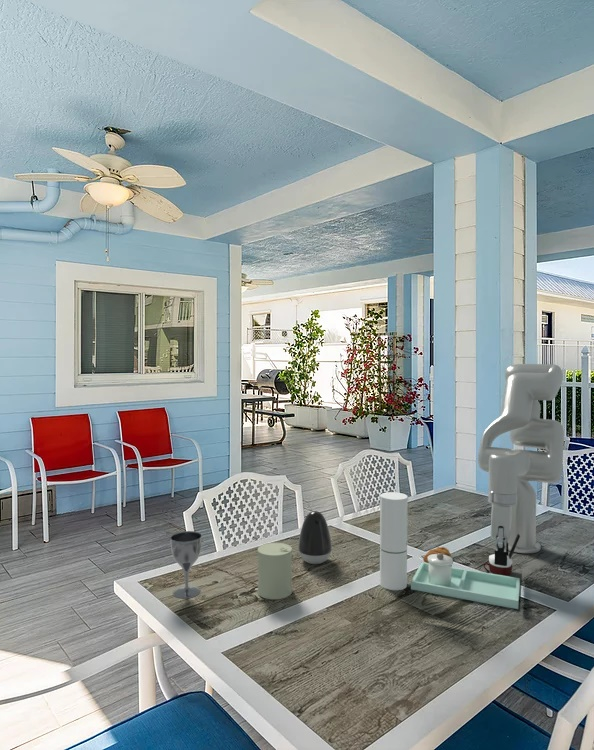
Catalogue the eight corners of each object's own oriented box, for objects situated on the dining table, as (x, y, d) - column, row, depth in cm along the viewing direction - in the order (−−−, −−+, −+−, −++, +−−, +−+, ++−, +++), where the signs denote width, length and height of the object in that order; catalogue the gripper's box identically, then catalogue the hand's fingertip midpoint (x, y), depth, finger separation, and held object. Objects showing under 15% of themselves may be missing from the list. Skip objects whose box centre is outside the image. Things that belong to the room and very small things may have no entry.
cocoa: (482, 577, 148) (480, 535, 148) (488, 568, 154) (486, 528, 153) (518, 584, 143) (516, 541, 143) (522, 575, 148) (521, 533, 148)
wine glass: (175, 601, 133) (175, 543, 132) (168, 589, 140) (167, 534, 140) (206, 595, 137) (205, 538, 136) (197, 583, 144) (196, 529, 143)
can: (284, 602, 133) (284, 555, 132) (251, 596, 136) (251, 550, 136) (297, 586, 142) (297, 543, 141) (265, 581, 145) (265, 538, 144)
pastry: (436, 570, 153) (436, 557, 152) (417, 563, 158) (417, 551, 158) (454, 561, 159) (454, 549, 159) (434, 555, 164) (434, 543, 164)
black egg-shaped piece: (302, 569, 153) (302, 518, 152) (295, 555, 163) (295, 507, 162) (336, 566, 155) (336, 515, 154) (326, 553, 165) (327, 505, 164)
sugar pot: (429, 575, 146) (430, 547, 146) (454, 580, 143) (454, 550, 143) (425, 585, 140) (425, 555, 140) (450, 590, 137) (451, 559, 137)
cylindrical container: (408, 584, 143) (409, 493, 142) (404, 595, 136) (405, 500, 135) (382, 580, 146) (382, 491, 144) (377, 591, 139) (378, 498, 138)
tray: (421, 572, 151) (421, 562, 151) (519, 589, 140) (519, 578, 140) (410, 592, 138) (411, 581, 138) (518, 613, 127) (518, 601, 127)
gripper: (490, 488, 157) (489, 547, 158) (485, 504, 141) (484, 569, 142) (518, 491, 154) (516, 551, 155) (516, 507, 138) (514, 574, 139)
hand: (501, 559), depth 148 cm, fingers open, 6 cm apart
